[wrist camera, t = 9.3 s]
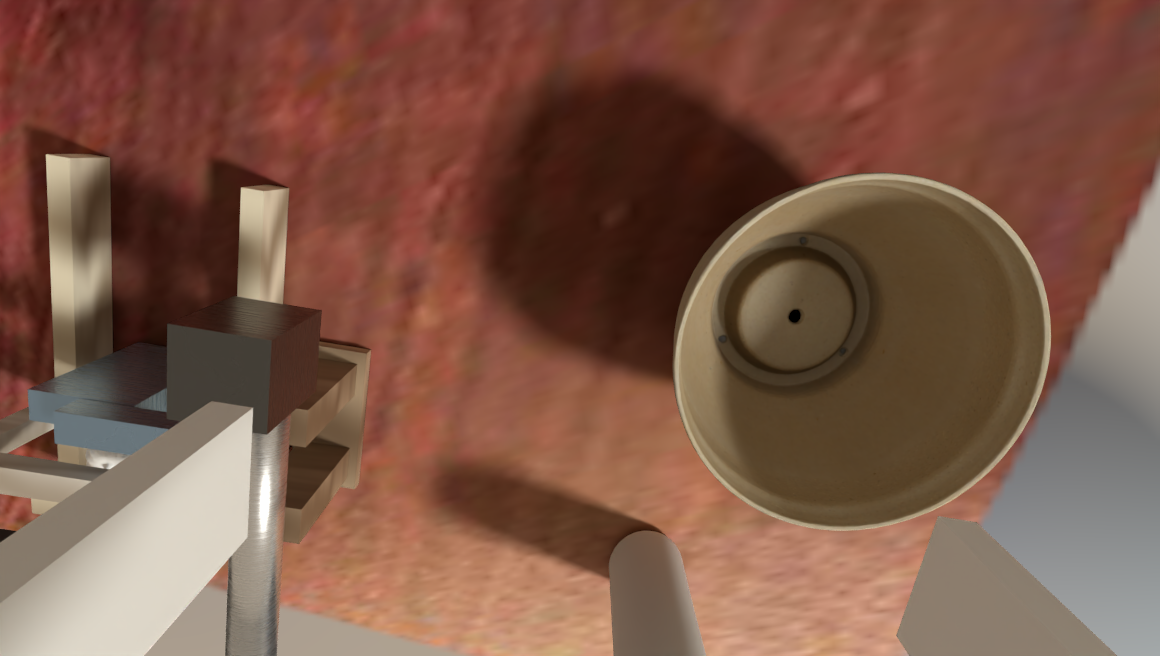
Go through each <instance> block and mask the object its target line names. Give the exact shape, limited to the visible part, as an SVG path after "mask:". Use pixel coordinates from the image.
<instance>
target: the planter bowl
mask: <svg viewBox="0 0 1160 656" xmlns="http://www.w3.org/2000/svg"><path fill="white" fill-rule="evenodd" d="M793 310H799V311H800V314H801V317H800V320H799V321H798V322H796V323H793V322H791V321H790V320H789V317H788V316H789V314H790V312H791V311H793ZM1050 345H1051V326H1050V313H1049V308H1048V302H1047V296H1046V292H1045V289H1044V285H1043V281H1042V279H1041V276H1040V274H1039V271H1038V269H1037V266H1036V264H1035V262H1034V260H1033V258H1032V256H1031V255H1030V253H1029V251H1028V250H1027V248H1026V247H1025V245H1024V244H1023V242H1022V241H1021V239H1020V238H1019V236H1018V235H1017V234H1016V233H1015V232H1014V231H1013V229H1012V228H1011V227H1010V226H1009V225H1008V224H1007V223H1006V222H1005V221H1004V220H1003V219H1002V218H1001V217H1000V216H999V215H997V214H996V213H995V212H994V211H992V210H991V209H990V208H989V207H987V206H986V205H985V204H983V203H982V202H980V201H978V200H977V199H975V198H974V197H972V196H970V195H968V194H966V193H964V192H962V191H960V190H958V189H956V188H954V187H951V186H949V185H947V184H944V183H940V182H937V181H934V180H931V179H927V178H922V177H918V176H913V175H905V174H895V173H861V174H851V175H844V176H838V177H834V178H830V179H826V180H822V181H818V182H815V183H812V184H809V185H806V186H803V187H800V188H797V189H794V190H791V191H788V192H785V193H783V194H781V195H778V196H776V197H774V198H772V199H770V200H768V201H766V202H764V203H762V204H760V205H759V206H757V207H755V208H754V209H752V210H750V211H749V212H747V213H746V214H745V215H743V216H742V217H741V218H739V219H738V220H737V221H735V222H734V223H733V224H732V225H731V226H729V227H728V228H727V229H726V230H725V231H724V232H723V233H722V234H721V235H720V236H719V237H718V238H717V239H716V240H715V241H714V243H713V244H712V245H711V246H710V248H709V249H708V250H707V251H706V252H705V254H704V255H703V257H702V258H701V260H700V261H699V263H698V265H697V266H696V268H695V270H694V271H693V273H692V275H691V277H690V279H689V281H688V284H687V286H686V288H685V291H684V293H683V296H682V299H681V302H680V306H679V310H678V314H677V319H676V324H675V332H674V348H673V382H674V390H675V397H676V401H677V406H678V409H679V413H680V416H681V419H682V422H683V425H684V428H685V430H686V433H687V435H688V437H689V439H690V441H691V443H692V445H693V447H694V449H695V450H696V452H697V453H698V455H699V457H700V458H701V460H702V461H703V463H704V464H705V465H706V467H707V468H708V469H709V470H710V472H711V473H712V474H713V475H714V476H715V477H716V478H717V479H718V480H719V481H720V482H721V483H722V484H723V485H724V486H725V487H726V488H727V489H728V490H729V491H730V492H732V493H733V494H734V495H735V496H737V497H738V498H739V499H741V500H742V501H744V502H746V503H747V504H749V505H750V506H752V507H754V508H755V509H757V510H759V511H761V512H763V513H765V514H768V515H770V516H772V517H774V518H777V519H780V520H783V521H786V522H789V523H792V524H795V525H799V526H804V527H809V528H815V529H822V530H836V531H847V530H863V529H871V528H878V527H883V526H888V525H892V524H896V523H899V522H903V521H906V520H909V519H912V518H915V517H917V516H920V515H923V514H925V513H928V512H930V511H933V510H935V509H937V508H939V507H941V506H942V505H944V504H946V503H948V502H950V501H951V500H953V499H955V498H956V497H958V496H959V495H961V494H962V493H964V492H965V491H967V490H968V489H969V488H971V487H972V486H973V485H974V484H976V483H977V482H978V481H979V480H980V479H981V478H983V477H984V476H985V475H986V474H987V473H988V472H989V471H990V470H991V469H992V468H993V467H994V466H995V465H996V464H997V463H998V462H999V461H1000V460H1001V459H1002V458H1003V456H1004V455H1005V454H1006V453H1007V452H1008V450H1009V449H1010V448H1011V446H1012V445H1013V444H1014V442H1015V441H1016V440H1017V438H1018V437H1019V435H1020V434H1021V432H1022V430H1023V429H1024V427H1025V425H1026V424H1027V422H1028V420H1029V418H1030V416H1031V415H1032V413H1033V411H1034V408H1035V406H1036V404H1037V401H1038V399H1039V396H1040V393H1041V391H1042V387H1043V384H1044V380H1045V376H1046V372H1047V368H1048V363H1049V355H1050Z"/></svg>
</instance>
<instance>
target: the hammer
mask: <svg viewBox="0 0 1160 656" xmlns="http://www.w3.org/2000/svg"><path fill="white" fill-rule="evenodd" d="M321 312H322V310H316V309H310V308H304V307H298V306H292V305H286V304H280V303H273V302H267V301H261V300H255V299H249V298H243V297H237V296H233V297H231V298H228V299H226V300H223V301H221V302H219V303H216V304H214V305H211V306H209V307H206V308H204V309H202V310H199V311H197V312H194V313H192V314H189V315H187V316H185V317H182V318H180V319H177V320H175V321H173V322H170V323H168V324H167V347H165V346H159V345H153V344H147V343H140V342H137V343H135V344H133V345H130V346H128V347H126V348H123V349H121V350H119V351H116V352H114V353H112V354H109V355H107V356H105V357H102V358H100V359H98V360H95V361H93V362H91V363H88V364H86V365H84V366H81V367H79V368H77V369H74V370H72V371H70V372H67V373H65V374H62V375H60V376H58V377H55V378H53V379H51V380H48V381H46V382H44V383H41V384H39V385H37V386H34V387H32V388H30V389H28V402H29V420H32V421H38V422H44V423H51V424H54V439H55V444H61V445H68V446H74V447H81V448H87V449H94V450H100V451H107V452H113V453H120V454H126V455H132V454H133V453H135V452H136V451H138V450H139V449H141V448H142V447H144V446H145V445H147V444H148V443H150V442H151V441H153V440H154V439H156V438H157V437H159V436H160V435H162V434H163V433H165V432H166V431H168V430H169V429H171V428H172V427H174V426H175V425H176V424H178V423H179V422H181V421H182V420H184V419H185V418H187V417H188V416H190V415H191V414H193V413H194V412H196V411H197V410H199V409H200V408H202V407H203V406H205V405H206V404H208V403H209V402H211V401H214V402H220V403H227V404H233V405H239V406H245V407H252V408H253V422H252V445H251V468H250V491H249V514H248V537H247V538H246V540H245V541H244V542H243V543H242V544H241V545H240V546H239V548H238V549H237V550H236V551H235V552H234V553H233V554H232V556H231V557H230V558H229V562H228V590H227V619H226V620H227V621H226V649H225V656H277V641H278V623H279V608H280V591H281V574H282V557H283V541H284V524H285V507H286V490H287V473H288V457H289V440H290V423H291V413H292V412H293V411H294V410H295V409H296V408H298V407H299V406H300V405H301V404H302V403H303V402H304V401H305V400H307V399H308V398H309V397H310V396H311V395H312V394H313V393H314V392H316V384H317V370H318V355H319V341H320V326H321Z"/></svg>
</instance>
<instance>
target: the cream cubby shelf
mask: <svg viewBox="0 0 1160 656" xmlns="http://www.w3.org/2000/svg"><path fill="white" fill-rule="evenodd" d="M370 356H371V350H369V349H363V348H357V347H351V346H345V345H339V344H333V343H326V342H320V341H319V355H318V370H317V384H316V392H314V393H313V394H312V395H311V396H310V397H309V398H308V399H307V400H305V401H304V402H303V403H302V404H301V405H300V406H299V407H298V408H296V409H295V410H294V411H293V412H292V413H291V423H290V440H289V445H293V449H292V450H291V451H290V452H289V457H288V473H287V490H286V507H285V524H284V542H290V543H297V544H299V543H300V542H301V541H302V539H303V538H304V537H305V535H306V534H307V532H308V531H309V530H310V528H311V527H312V526H313V524H314V523H315V521H316V520H317V519H318V517H319V516H320V515H321V513H322V512H323V510H324V509H325V508H326V506H327V505H328V504H329V502H330V501H331V499H332V498H333V497H334V495H335V494H336V493H337V491H338V490H339V488H340V487H344V488H350V489H355V488H356V487H357V485H358V484H359V477H360V466H361V455H362V444H363V433H364V422H365V411H366V400H367V389H368V378H369V367H370Z"/></svg>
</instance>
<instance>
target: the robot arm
mask: <svg viewBox="0 0 1160 656" xmlns="http://www.w3.org/2000/svg"><path fill="white" fill-rule="evenodd" d="M252 422H253V408H252V407H245V406H239V405H233V404H227V403H220V402H214V401H211V402H209V403H208V404H206V405H205V406H203V407H202V408H200V409H199V410H197V411H196V412H194V413H193V414H191V415H190V416H188V417H187V418H185V419H184V420H182V421H181V422H179V423H178V424H176V425H175V426H174V427H172V428H171V429H169V430H168V431H166V432H165V433H163V434H162V435H160V436H159V437H157V438H156V439H154V440H153V441H151V442H150V443H148V444H147V445H145V446H144V447H142V448H141V449H139V450H138V451H136V452H135V453H133V454H132V455H130V456H129V457H127V458H126V459H124V460H123V461H121V462H120V463H118V464H117V465H115V466H114V467H112V468H111V469H109V470H108V471H106V472H105V473H103V474H102V475H100V476H99V477H97V478H96V479H94V480H93V481H91V482H90V483H88V484H87V485H85V486H84V487H82V488H81V489H79V490H78V491H76V492H75V493H73V494H72V495H70V496H69V497H67V498H66V499H64V500H63V501H61V502H60V503H58V504H57V505H55V506H54V507H52V508H51V509H49V510H48V511H46V512H45V513H43V514H42V515H40V516H39V517H37V518H36V519H34V520H33V521H32V522H30V523H29V524H27V525H26V526H24V527H23V528H21V529H20V530H18V531H11V530H5V529H0V656H144V655H145V654H146V653H147V652H148V651H149V649H150V648H151V647H152V646H153V645H154V644H155V643H156V641H157V640H158V639H159V638H160V637H161V636H162V635H163V633H164V632H165V631H166V630H167V629H168V628H169V627H170V625H171V624H172V623H173V622H174V621H175V619H176V618H177V617H178V616H179V615H180V614H181V613H182V612H183V611H184V609H185V608H186V607H187V606H188V605H189V604H190V602H191V601H192V600H193V599H194V598H195V597H196V596H197V595H198V593H199V592H200V591H201V590H202V589H203V588H204V587H205V585H206V584H207V583H208V582H209V581H210V580H211V579H212V577H213V576H214V575H215V574H216V573H217V572H218V570H219V569H220V568H221V567H222V566H223V565H224V564H225V562H226V561H227V560H228V559H229V558H230V557H231V556H232V554H233V553H234V552H235V551H236V550H237V549H238V548H239V546H240V545H241V544H242V543H243V542H244V541H245V540H246V538H247V537H248V514H249V491H250V468H251V445H252ZM896 636H897V637H898V639H899V640H900V642H901V643H902V645H903V647H904V648H905V650H906V651H907V653H908V654H909V656H1117V655H1116V654H1115V653H1114V652H1113V651H1112V650H1110V648H1108V647H1107V646H1106V645H1105V644H1104V643H1103V642H1102V641H1101V640H1100V639H1099V638H1098V637H1097V636H1096V635H1095V634H1094V633H1093V632H1092V631H1090V630H1089V629H1088V628H1087V627H1086V626H1085V625H1084V624H1083V623H1082V622H1081V621H1080V620H1079V619H1077V617H1076V616H1075V615H1074V614H1073V613H1071V611H1069V610H1068V609H1067V608H1066V607H1065V606H1064V605H1063V604H1062V603H1061V602H1060V601H1059V600H1058V599H1057V598H1056V597H1055V596H1054V595H1052V593H1050V592H1049V591H1048V590H1047V589H1046V588H1045V587H1044V586H1043V585H1042V584H1041V583H1040V582H1039V581H1038V580H1037V579H1036V578H1035V577H1034V576H1032V575H1031V574H1030V573H1029V572H1028V571H1027V570H1026V569H1025V568H1024V567H1023V566H1022V565H1021V564H1020V563H1019V562H1018V561H1017V560H1016V559H1015V558H1014V557H1012V556H1011V555H1010V554H1009V553H1008V552H1007V551H1006V550H1005V549H1004V548H1003V547H1002V546H1001V545H1000V544H999V543H998V542H997V541H996V540H995V539H993V538H992V537H991V536H990V535H989V534H988V533H987V532H986V531H985V530H984V529H983V528H982V527H981V526H980V525H979V524H978V523H977V522H971V521H965V520H959V519H952V518H946V517H940V516H938V518H937V521H936V524H935V526H934V529H933V532H932V535H931V538H930V541H929V544H928V546H927V549H926V552H925V555H924V558H923V561H922V564H921V566H920V569H919V572H918V575H917V578H916V581H915V584H914V586H913V589H912V592H911V595H910V598H909V601H908V604H907V607H906V609H905V612H904V615H903V618H902V621H901V624H900V627H899V629H898V632H897V635H896Z"/></svg>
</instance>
